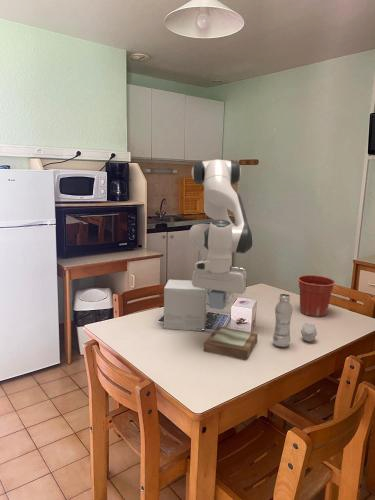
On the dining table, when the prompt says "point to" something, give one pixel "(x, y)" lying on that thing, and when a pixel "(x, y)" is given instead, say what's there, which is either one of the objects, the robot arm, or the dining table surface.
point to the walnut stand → (231, 342)
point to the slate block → (217, 299)
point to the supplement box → (184, 306)
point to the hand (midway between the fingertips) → (217, 301)
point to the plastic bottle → (282, 321)
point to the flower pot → (315, 294)
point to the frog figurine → (308, 332)
